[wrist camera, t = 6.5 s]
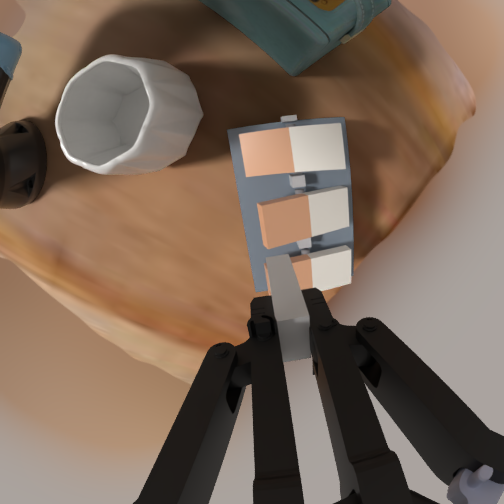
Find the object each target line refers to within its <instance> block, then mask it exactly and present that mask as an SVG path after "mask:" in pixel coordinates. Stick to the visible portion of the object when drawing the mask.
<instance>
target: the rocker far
mask: <svg viewBox="0 0 504 504" xmlns="http://www.w3.org/2000/svg"><path fill="white" fill-rule="evenodd" d="M290 260H291V262H292V265H293V268H294V271H295V274H296V277H297V280H298V283H299V286H300V289H301V290H303V289H309V288H315V287H316V288H317V289H319V290H320V291H324V290H328V289H331V288H335V287H339V286H342V285H346V284H350V283H351V249H350V248H349V247H348V246H346V245H344V246H340V247H335V248H331V249H326V250H322V251H317V252H313V253H310V249H309V248H303V249H301V255H299V256H295V257H290ZM264 267H265V273H266V280H267V286H268V293H269V296H270V295H271V291H270V284H269V277H268V270H267V264H266V263H264Z"/></svg>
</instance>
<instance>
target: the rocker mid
mask: <svg viewBox="0 0 504 504" xmlns="http://www.w3.org/2000/svg"><path fill="white" fill-rule="evenodd" d="M257 208H258V214H259V220H260V227H261V233H262V240H263V245H264V246H265V247H266V248H267V249H271V248H275V247H278V246H282V245H286V244H289V243H293V242H296V241H300V240H303V239H307V238H310V237H314V236H317V235H321V234H324V233H328V232H331V231H335V230H338V229H342V228H345V227H349V207H348V190H347V187H344V186H335V187H330V188H325V189H320V190H315V191H310V192H305V193H304V189H303V188H299V189H295V195H291V196H286V197H282V198H277V199H273V200H268V201H264V202H260V203H257Z"/></svg>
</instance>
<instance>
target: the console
mask: <svg viewBox="0 0 504 504" xmlns="http://www.w3.org/2000/svg"><path fill="white" fill-rule="evenodd" d="M280 118H281V122H275V123H267V124H260V125H253V126H246V127H240V128H234V129H229V130H227V133H228V139H229V144H230V150H231V156H232V161H233V167H234V173H235V178H236V184H237V190H238V195H239V201H240V207H241V212H242V218H243V223H244V229H245V235H246V240H247V246H248V251H249V257H250V263H251V268H252V274H253V279H254V285H255V290H256V292H261V291H268V286H267V280H266V273H265V267H264V263H266V257H272V256H279V255H285V254H289V257H295V256H299V255H301V249H303V248H309V249H310V253H313V252H317V251H322V250H326V249H331V248H335V247H340V246H344V245H346V246H348V247H349V248H350V249H351V276H353V262H354V242H353V206H352V188H351V173H350V162H349V151H348V142H347V133H346V125H345V118H344V117H335V118H318V119H305V120H297V116H296V115H289V116H282V117H280ZM332 123H341V128H342V136H343V145H344V154H345V165H346V169H338V170H320V171H305V172H302V173H298V174H293V173H281V174H271V175H261V176H252V177H246V174H245V168H244V162H243V156H242V150H241V144H240V138H239V134H244V133H250V132H256V131H263V130H271V129H278V128H286V124H296V126H306V125H318V124H332ZM335 186H344V187H347V190H348V207H349V227H345V228H342V229H338V230H335V231H331V232H328V233H324V234H321V235H317V236H314V237H310V238H307V239H303V240H300V241H296V242H293V243H289V244H286V245H282V246H278V247H275V248H271V249H267V248H266V247H265V246H264V245H263V240H262V233H261V227H260V220H259V214H258V208H257V203H260V202H264V201H268V200H273V199H277V198H282V197H286V196H291V195H295V189H299V188H303V189H304V193H305V192H310V191H315V190H320V189H325V188H330V187H335Z"/></svg>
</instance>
